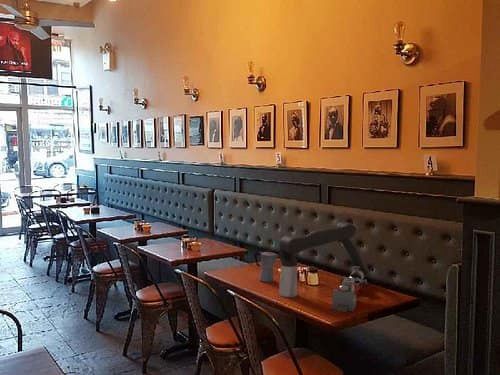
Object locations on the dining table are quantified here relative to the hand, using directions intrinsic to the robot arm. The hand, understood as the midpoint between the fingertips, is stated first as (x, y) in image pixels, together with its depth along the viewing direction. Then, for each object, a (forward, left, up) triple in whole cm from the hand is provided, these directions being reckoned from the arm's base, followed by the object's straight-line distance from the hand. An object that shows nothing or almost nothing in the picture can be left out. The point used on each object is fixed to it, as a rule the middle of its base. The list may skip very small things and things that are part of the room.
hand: (351, 284), depth 265 cm
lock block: (0, -11, -7) cm, 13 cm away
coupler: (0, -23, -7) cm, 24 cm away
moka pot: (-55, +11, -7) cm, 57 cm away
